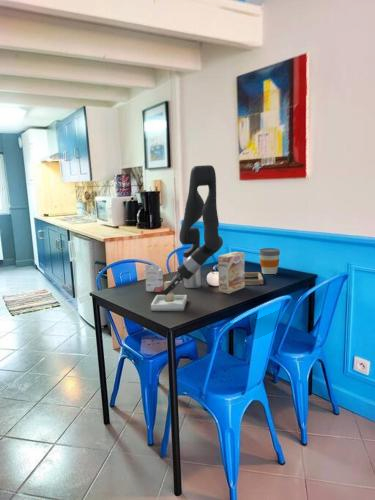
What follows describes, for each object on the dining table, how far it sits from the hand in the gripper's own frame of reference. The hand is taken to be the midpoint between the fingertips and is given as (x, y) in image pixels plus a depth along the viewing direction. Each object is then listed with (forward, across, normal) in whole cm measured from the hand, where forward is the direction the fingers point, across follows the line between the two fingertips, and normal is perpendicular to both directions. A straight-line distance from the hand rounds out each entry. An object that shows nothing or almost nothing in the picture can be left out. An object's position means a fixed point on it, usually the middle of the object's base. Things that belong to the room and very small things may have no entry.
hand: (165, 292), depth 178 cm
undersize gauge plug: (+2, 0, +4) cm, 4 cm away
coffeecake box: (-18, -27, +27) cm, 42 cm away
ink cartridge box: (+12, -26, -2) cm, 29 cm away
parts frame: (-24, -46, +33) cm, 61 cm away
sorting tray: (+3, 0, +6) cm, 7 cm away
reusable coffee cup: (-35, -63, +44) cm, 84 cm away
